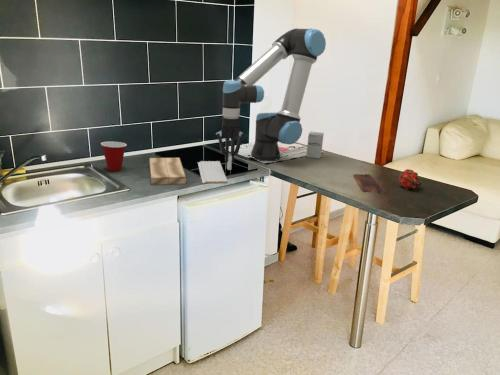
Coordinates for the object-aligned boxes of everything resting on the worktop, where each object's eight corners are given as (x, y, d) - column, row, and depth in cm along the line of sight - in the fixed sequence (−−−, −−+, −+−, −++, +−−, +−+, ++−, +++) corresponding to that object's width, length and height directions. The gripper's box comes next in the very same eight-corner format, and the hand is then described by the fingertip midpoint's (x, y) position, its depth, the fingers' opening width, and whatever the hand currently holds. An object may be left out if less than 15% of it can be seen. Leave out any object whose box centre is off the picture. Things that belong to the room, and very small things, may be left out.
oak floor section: (179, 163, 203) (179, 157, 202) (186, 183, 176) (186, 176, 175) (149, 164, 200) (149, 158, 199) (151, 184, 172) (151, 177, 171)
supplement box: (305, 157, 226) (308, 133, 222) (307, 154, 233) (310, 131, 229) (319, 158, 225) (322, 135, 220) (321, 155, 231) (323, 132, 227)
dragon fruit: (404, 186, 192) (412, 199, 181) (391, 175, 190) (398, 187, 179) (418, 173, 189) (427, 185, 178) (405, 161, 186) (413, 173, 176)
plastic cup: (131, 170, 189) (130, 144, 185) (108, 174, 183) (106, 147, 179) (122, 164, 197) (120, 139, 193) (98, 168, 191) (96, 141, 187)
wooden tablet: (351, 171, 201) (372, 170, 200) (351, 176, 202) (372, 175, 201) (362, 190, 176) (387, 189, 175) (362, 195, 176) (387, 194, 176)
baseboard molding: (198, 184, 177) (227, 184, 179) (198, 178, 176) (227, 178, 178) (194, 164, 206) (219, 164, 208) (194, 158, 205) (219, 158, 207)
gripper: (243, 116, 192) (241, 166, 199) (214, 115, 188) (213, 167, 196) (247, 118, 185) (244, 171, 192) (217, 118, 182) (216, 171, 189)
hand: (229, 169), depth 194 cm, fingers closed
